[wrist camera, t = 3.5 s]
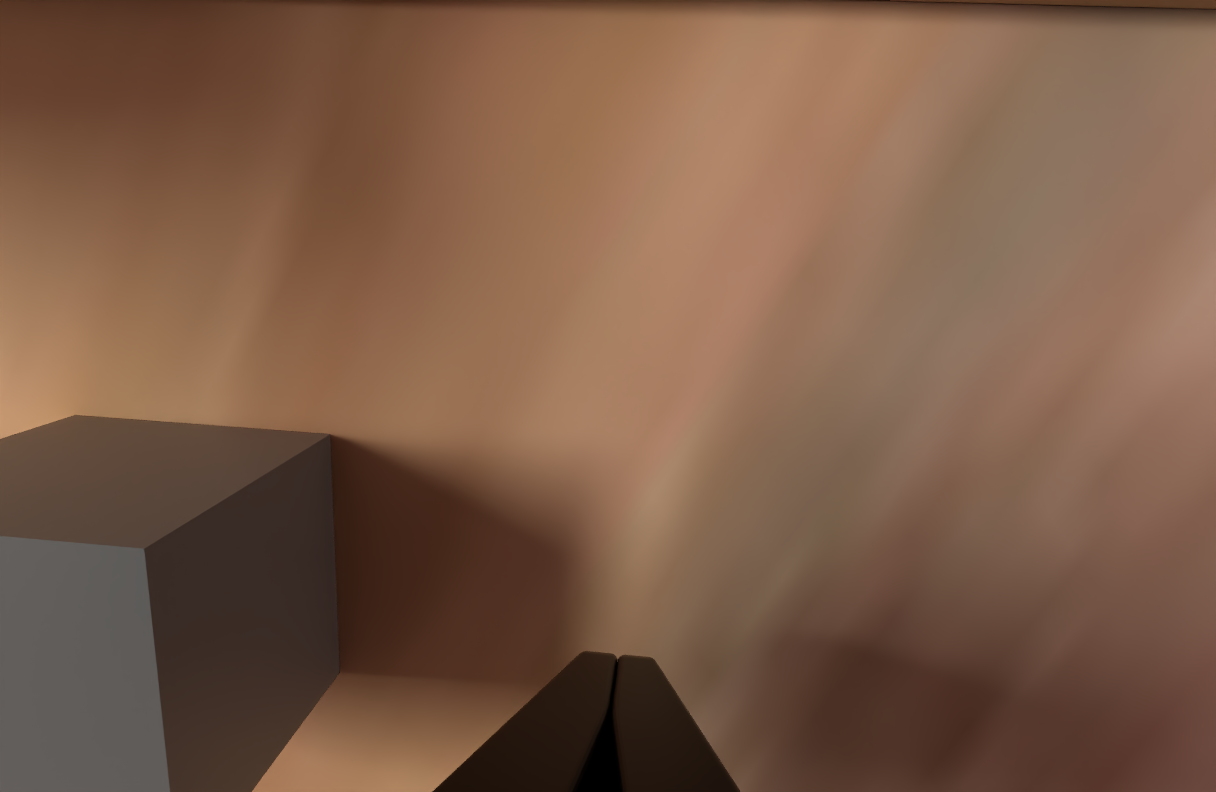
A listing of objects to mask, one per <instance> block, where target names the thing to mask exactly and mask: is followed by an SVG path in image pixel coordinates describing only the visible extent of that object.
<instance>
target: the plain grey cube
mask: <svg viewBox="0 0 1216 792" xmlns="http://www.w3.org/2000/svg"><path fill="white" fill-rule="evenodd" d="M339 673H340V663H339V638H338V614H337V589H336V564H335V540H334V515H333V490H332V466H331V441H330V434H322V433H308V432H295V431H281V430H268V429H254V428H241V427H228V426H214V425H201V424H187V423H174V422H160V421H147V420H133V419H120V418H106V417H93V416H80V415H74V416H71V417H68V418H64V419H61V420H58V421H55V422H52V423H49V424H46V425H43V426H40V427H36V428H33V429H30V430H27V431H24V432H21V433H18V434H15V435H11V436H8V437H5V438H2V439H0V792H252V790H253V789H254V788H255V786H256V785H257V784H258V782H259V781H260V779H261V778H262V777H263V775H264V774H265V773H266V771H267V770H268V769H269V767H270V766H271V765H272V763H273V762H274V761H275V759H276V758H277V756H278V755H279V754H280V752H281V751H282V750H283V748H284V747H285V746H286V744H287V743H288V742H289V740H290V739H291V738H292V736H293V735H294V734H295V732H296V731H297V729H298V728H299V727H300V725H301V724H302V723H303V721H304V720H305V719H306V717H307V716H308V715H309V713H310V712H311V711H312V709H313V708H314V706H315V705H316V704H317V702H318V701H319V700H320V698H321V697H322V696H323V694H324V693H325V692H326V690H327V689H328V688H329V686H330V685H331V684H332V682H333V681H334V679H335V678H336V677H337V675H338V674H339Z"/></svg>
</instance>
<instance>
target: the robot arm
mask: <svg viewBox="0 0 1216 792" xmlns="http://www.w3.org/2000/svg"><path fill="white" fill-rule="evenodd" d="M433 792H740V790H739V789H738V787H737V786H736V784H735V782H734V781H733V779H732V778H731V776H730V775H729V773H728V772H727V770H726V769H725V767H724V766H723V764H722V762H721V761H720V759H719V758H718V756H717V755H716V753H715V752H714V750H713V749H712V747H711V746H710V744H709V742H708V741H707V739H706V738H705V736H704V735H703V733H702V732H701V730H700V729H699V727H698V726H697V724H696V722H695V721H694V719H693V718H692V716H691V715H690V713H689V712H688V710H687V709H686V707H685V706H684V704H683V702H682V701H681V699H680V698H679V696H678V695H677V693H676V692H675V690H674V689H673V687H672V686H671V684H670V682H669V681H668V679H667V678H666V676H665V675H664V673H663V672H662V670H661V669H660V667H659V666H658V664H657V662H656V661H655V660H654V659H653V658H651V657H643V656H632V655H622V656H620V657H619V659H618V662H617V658H616V656H615V655H614V654H611V653H601V652H590V651H584V652H582V653H580V654H579V655H578V656H577V657H576V658H575V659H574V660H573V661H572V662H570V663H569V664H568V665H567V666H566V667H565V668H564V669H563V670H562V671H561V672H560V673H559V674H558V675H557V676H556V677H554V678H553V679H552V680H551V681H550V682H549V683H548V684H547V685H546V686H545V687H544V688H543V689H542V690H541V691H539V692H538V693H537V694H536V695H535V696H534V697H533V698H532V699H531V700H530V701H529V702H528V703H527V704H526V705H525V706H523V707H522V708H521V709H520V710H519V711H518V712H517V713H516V714H515V715H514V716H513V717H512V718H511V719H510V720H509V721H507V722H506V723H505V724H504V725H503V726H502V727H501V728H500V729H499V730H498V731H497V732H496V733H495V734H494V735H492V736H491V737H490V738H489V739H488V740H487V741H486V742H485V743H484V744H483V745H482V746H481V747H480V748H479V749H478V750H476V751H475V752H474V753H473V754H472V755H471V756H470V757H469V758H468V759H467V760H466V761H465V762H464V763H463V764H461V765H460V766H459V767H458V768H457V769H456V770H455V771H454V772H453V773H452V774H451V775H450V776H449V777H448V778H447V779H445V780H444V781H443V782H442V783H441V784H440V785H439V786H438V787H437V788H436V789H435V790H434V791H433Z"/></svg>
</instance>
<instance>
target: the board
mask: <svg viewBox="0 0 1216 792" xmlns="http://www.w3.org/2000/svg"><path fill="white" fill-rule="evenodd" d="M892 1H931V2H970V3H1009V4H1048V5H1087V6H1126V7H1165V8H1203V9H1216V0H892Z"/></svg>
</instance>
